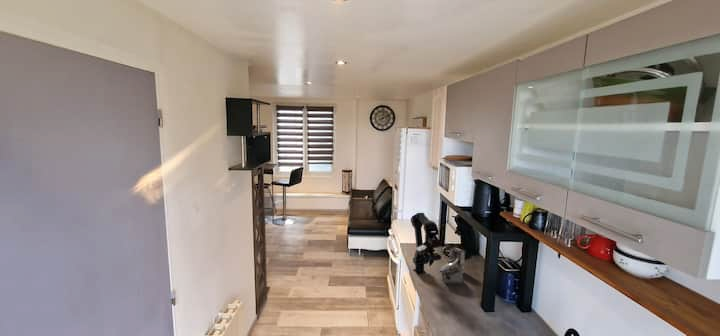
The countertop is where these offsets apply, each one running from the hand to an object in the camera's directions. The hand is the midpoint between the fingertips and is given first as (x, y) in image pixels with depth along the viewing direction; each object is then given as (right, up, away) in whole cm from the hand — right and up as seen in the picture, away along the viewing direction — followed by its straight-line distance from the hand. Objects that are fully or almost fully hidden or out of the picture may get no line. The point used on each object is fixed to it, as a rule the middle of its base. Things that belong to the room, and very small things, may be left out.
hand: (428, 264), depth 188 cm
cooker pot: (+16, -13, +5) cm, 21 cm away
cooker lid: (+15, -2, +4) cm, 16 cm away
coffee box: (+24, -11, +18) cm, 32 cm away
